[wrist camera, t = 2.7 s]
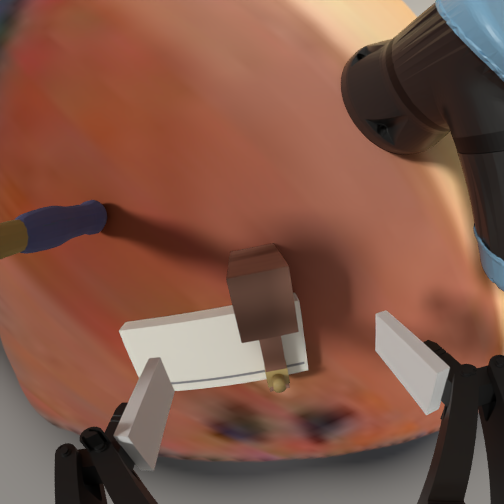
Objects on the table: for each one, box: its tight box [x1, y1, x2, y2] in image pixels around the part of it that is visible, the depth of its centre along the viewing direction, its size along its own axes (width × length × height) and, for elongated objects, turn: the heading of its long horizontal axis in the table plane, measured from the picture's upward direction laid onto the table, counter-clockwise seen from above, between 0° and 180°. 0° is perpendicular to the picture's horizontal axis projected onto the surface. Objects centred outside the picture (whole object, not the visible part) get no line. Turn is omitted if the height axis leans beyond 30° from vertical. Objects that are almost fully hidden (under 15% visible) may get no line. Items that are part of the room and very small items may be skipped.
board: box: [119, 293, 308, 391], centre depth 33 cm, size 10×22×3 cm, turn 101°
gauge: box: [226, 243, 299, 393], centre depth 29 cm, size 17×5×10 cm, turn 11°
